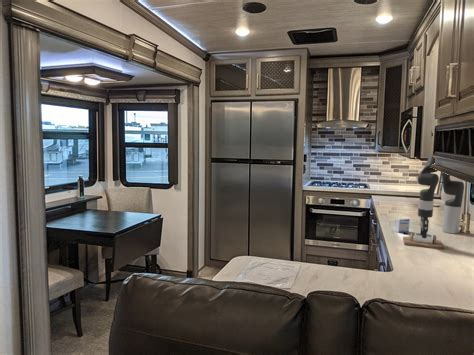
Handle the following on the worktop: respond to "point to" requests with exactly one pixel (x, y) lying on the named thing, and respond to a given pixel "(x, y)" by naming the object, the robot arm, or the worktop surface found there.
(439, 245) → the pin tray
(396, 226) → the medicine box
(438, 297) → the worktop surface
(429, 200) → the robot arm
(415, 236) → the block
